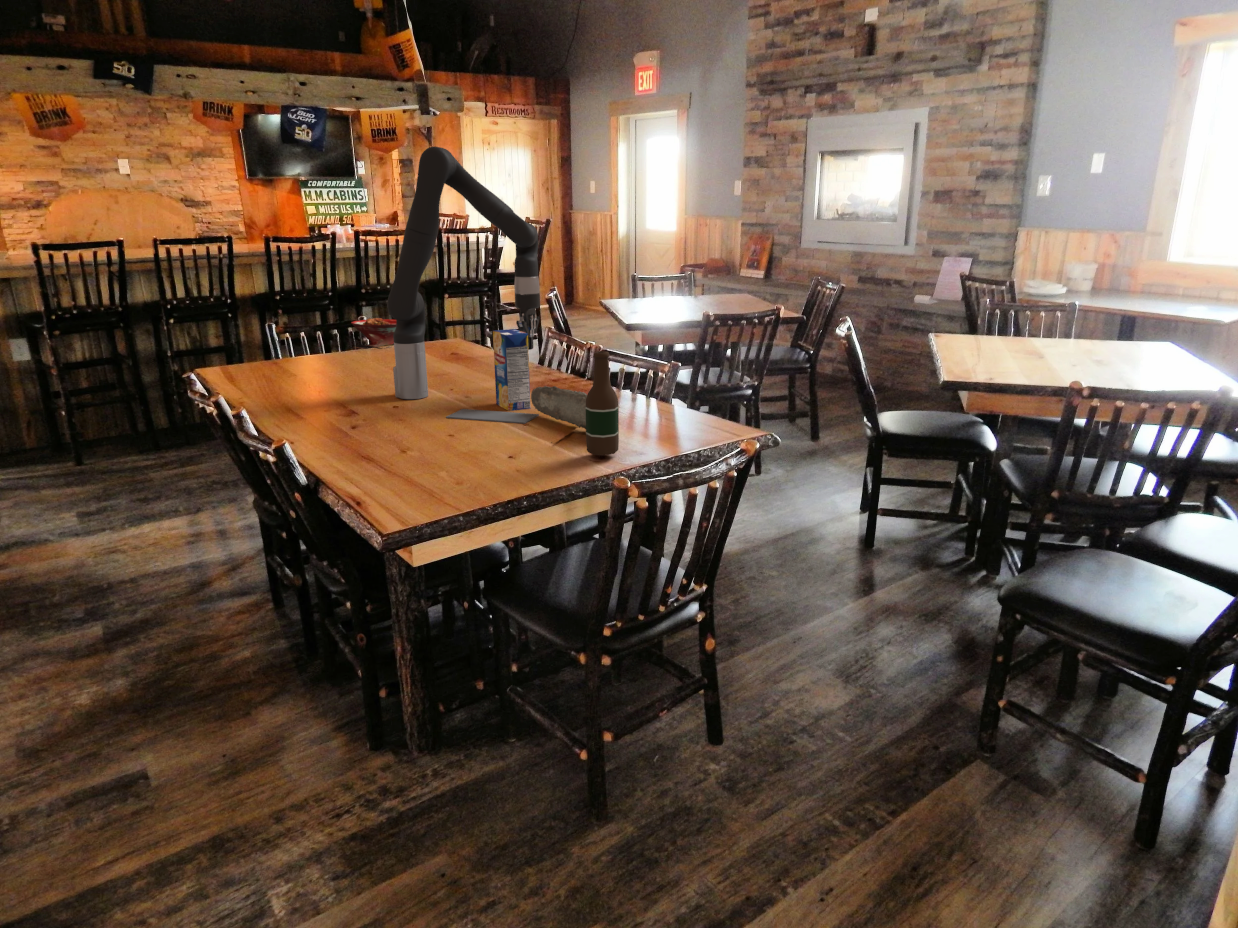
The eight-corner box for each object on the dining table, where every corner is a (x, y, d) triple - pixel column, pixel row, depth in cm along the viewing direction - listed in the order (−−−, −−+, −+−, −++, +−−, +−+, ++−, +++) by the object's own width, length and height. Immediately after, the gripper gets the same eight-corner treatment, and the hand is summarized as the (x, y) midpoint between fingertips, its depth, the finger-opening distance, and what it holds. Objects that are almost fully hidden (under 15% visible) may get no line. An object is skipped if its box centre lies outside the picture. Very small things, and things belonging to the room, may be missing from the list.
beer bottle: (585, 447, 201) (583, 349, 194) (617, 446, 202) (616, 348, 195) (587, 456, 194) (585, 354, 187) (620, 455, 195) (619, 354, 188)
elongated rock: (525, 415, 234) (524, 381, 231) (540, 412, 237) (539, 378, 234) (604, 439, 208) (604, 401, 206) (620, 436, 212) (620, 398, 209)
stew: (427, 346, 359) (424, 309, 354) (403, 355, 336) (400, 315, 332) (367, 345, 364) (364, 308, 359) (340, 353, 341) (336, 314, 337)
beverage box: (508, 411, 239) (505, 335, 233) (496, 403, 248) (492, 330, 242) (530, 408, 242) (527, 333, 236) (517, 401, 251) (514, 329, 245)
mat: (445, 418, 231) (445, 416, 231) (462, 410, 240) (462, 408, 240) (524, 423, 224) (524, 422, 224) (538, 415, 234) (538, 414, 233)
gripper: (524, 289, 255) (526, 345, 260) (506, 293, 243) (509, 352, 248) (547, 290, 253) (548, 346, 258) (530, 294, 241) (532, 353, 246)
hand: (529, 349), depth 253 cm, fingers closed
